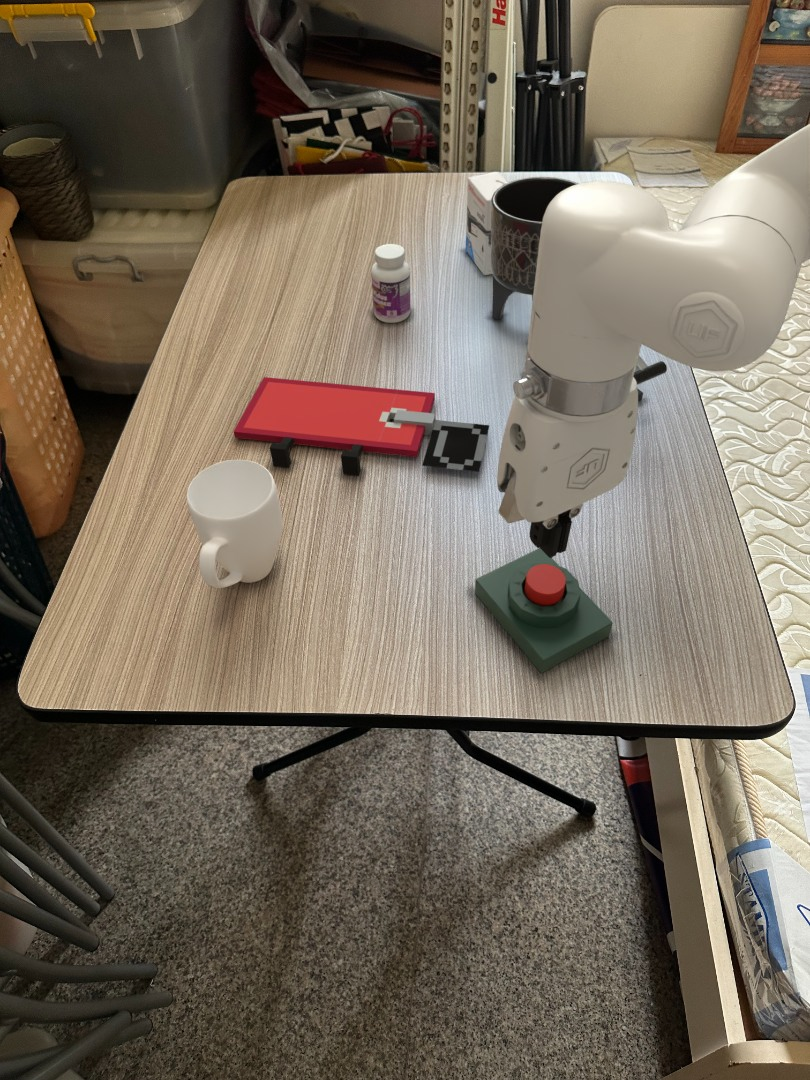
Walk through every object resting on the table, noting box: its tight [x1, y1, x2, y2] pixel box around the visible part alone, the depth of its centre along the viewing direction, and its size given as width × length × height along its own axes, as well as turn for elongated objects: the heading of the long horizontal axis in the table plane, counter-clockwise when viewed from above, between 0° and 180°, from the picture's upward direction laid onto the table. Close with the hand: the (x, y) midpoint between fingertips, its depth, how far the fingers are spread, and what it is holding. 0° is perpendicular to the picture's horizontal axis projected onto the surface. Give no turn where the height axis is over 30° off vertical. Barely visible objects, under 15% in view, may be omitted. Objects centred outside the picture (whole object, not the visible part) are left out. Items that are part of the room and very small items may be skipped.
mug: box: [186, 459, 283, 589], centre depth 76 cm, size 12×8×11 cm
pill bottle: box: [370, 243, 411, 324], centre depth 109 cm, size 5×5×10 cm
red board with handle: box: [233, 376, 490, 477], centre depth 94 cm, size 30×3×15 cm
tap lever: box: [633, 355, 668, 386], centre depth 90 cm, size 12×5×2 cm, turn 30°
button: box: [525, 564, 566, 606], centre depth 73 cm, size 4×4×2 cm
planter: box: [491, 176, 580, 320], centre depth 103 cm, size 13×13×18 cm
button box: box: [474, 548, 614, 674], centre depth 75 cm, size 11×8×4 cm
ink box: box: [465, 171, 509, 276], centre depth 117 cm, size 8×5×12 cm, turn 17°
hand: (547, 543), depth 69 cm, fingers closed
